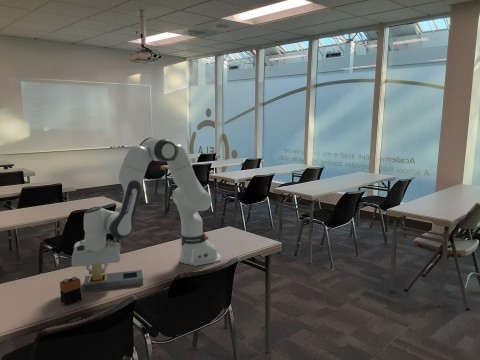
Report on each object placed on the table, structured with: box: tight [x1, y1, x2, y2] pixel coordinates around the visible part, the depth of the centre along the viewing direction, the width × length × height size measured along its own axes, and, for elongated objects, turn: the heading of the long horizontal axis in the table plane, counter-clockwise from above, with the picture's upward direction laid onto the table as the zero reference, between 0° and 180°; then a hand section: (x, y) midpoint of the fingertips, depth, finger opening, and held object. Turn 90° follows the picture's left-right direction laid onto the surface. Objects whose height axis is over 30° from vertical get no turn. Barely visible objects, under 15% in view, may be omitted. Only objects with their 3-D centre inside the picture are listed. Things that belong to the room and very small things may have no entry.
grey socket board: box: [83, 269, 144, 293], centre depth 170 cm, size 25×10×3 cm, turn 108°
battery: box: [59, 276, 83, 306], centre depth 152 cm, size 4×7×10 cm, turn 141°
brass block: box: [91, 264, 104, 282], centre depth 167 cm, size 4×4×9 cm
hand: (97, 273), depth 167 cm, fingers closed on brass block, 4 cm apart
